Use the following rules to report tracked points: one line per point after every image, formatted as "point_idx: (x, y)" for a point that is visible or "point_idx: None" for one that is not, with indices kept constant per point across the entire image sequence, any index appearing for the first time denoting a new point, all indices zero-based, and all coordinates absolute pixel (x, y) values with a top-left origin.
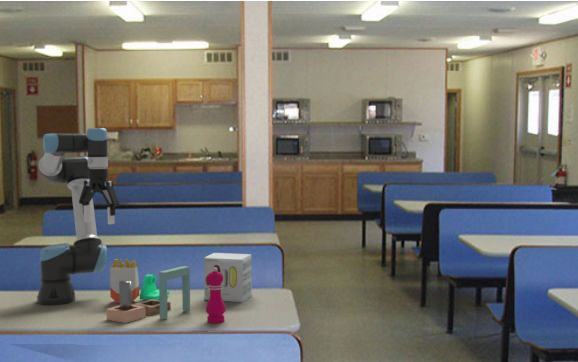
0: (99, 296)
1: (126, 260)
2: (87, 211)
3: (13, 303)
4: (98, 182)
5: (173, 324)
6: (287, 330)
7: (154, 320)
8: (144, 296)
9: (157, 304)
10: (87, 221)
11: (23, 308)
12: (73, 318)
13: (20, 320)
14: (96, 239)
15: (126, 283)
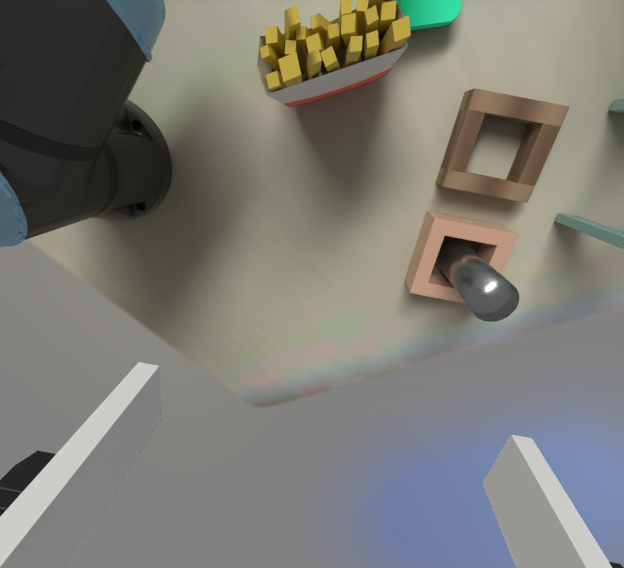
0: (185, 34)
1: (357, 51)
2: (83, 510)
3: None
4: None
5: (617, 259)
6: None
7: (544, 243)
8: None
9: (530, 159)
10: (156, 403)
11: (119, 265)
12: (314, 298)
13: (214, 347)
14: None
15: (507, 313)
